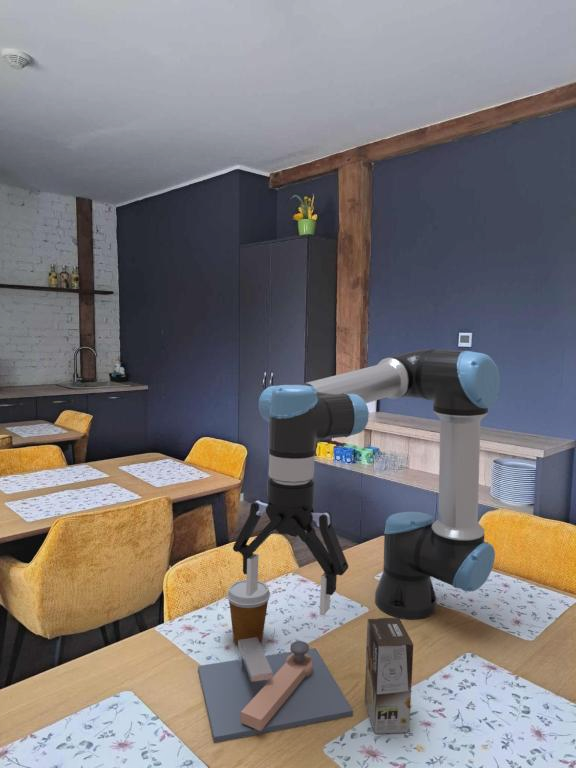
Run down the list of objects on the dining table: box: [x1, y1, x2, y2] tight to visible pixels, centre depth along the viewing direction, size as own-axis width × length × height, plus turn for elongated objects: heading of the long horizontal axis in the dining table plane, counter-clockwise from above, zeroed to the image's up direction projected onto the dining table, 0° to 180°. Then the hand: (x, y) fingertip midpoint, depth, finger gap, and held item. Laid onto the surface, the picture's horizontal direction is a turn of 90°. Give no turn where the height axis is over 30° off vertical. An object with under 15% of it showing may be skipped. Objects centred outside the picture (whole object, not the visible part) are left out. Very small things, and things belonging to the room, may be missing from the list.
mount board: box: [197, 647, 354, 744], centre depth 105 cm, size 25×20×1 cm
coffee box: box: [364, 617, 414, 735], centre depth 99 cm, size 9×6×16 cm
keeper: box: [237, 637, 273, 682], centre depth 107 cm, size 4×12×6 cm, turn 17°
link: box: [241, 640, 313, 731], centre depth 103 cm, size 21×5×5 cm, turn 152°
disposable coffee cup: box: [226, 579, 272, 647], centre depth 121 cm, size 10×10×12 cm
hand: (287, 601), depth 93 cm, fingers open, 13 cm apart
